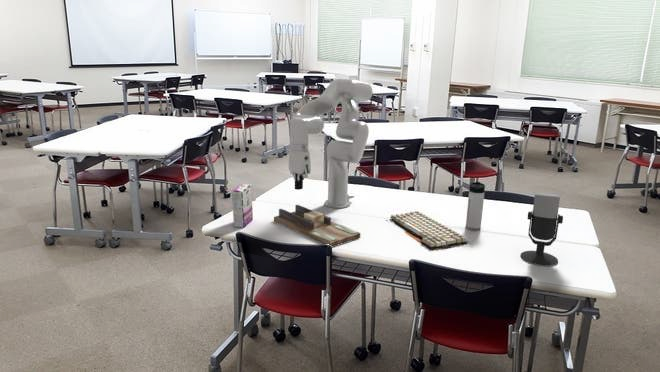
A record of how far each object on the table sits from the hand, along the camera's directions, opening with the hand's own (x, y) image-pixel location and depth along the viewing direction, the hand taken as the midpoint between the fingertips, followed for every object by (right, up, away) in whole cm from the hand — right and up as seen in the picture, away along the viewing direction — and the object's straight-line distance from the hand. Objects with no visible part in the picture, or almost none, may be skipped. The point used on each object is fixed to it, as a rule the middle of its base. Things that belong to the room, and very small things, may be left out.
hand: (298, 188), depth 212 cm
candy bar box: (-24, -15, +2) cm, 29 cm away
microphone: (+91, -26, -29) cm, 99 cm away
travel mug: (+75, -17, +1) cm, 77 cm away
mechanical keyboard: (+54, -19, -3) cm, 57 cm away
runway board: (+7, -17, -3) cm, 19 cm away
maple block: (+7, -15, -3) cm, 17 cm away
